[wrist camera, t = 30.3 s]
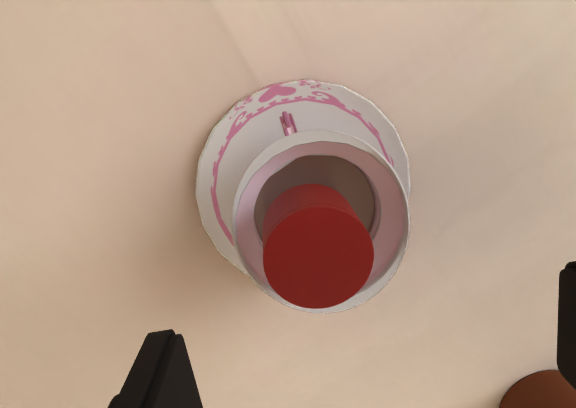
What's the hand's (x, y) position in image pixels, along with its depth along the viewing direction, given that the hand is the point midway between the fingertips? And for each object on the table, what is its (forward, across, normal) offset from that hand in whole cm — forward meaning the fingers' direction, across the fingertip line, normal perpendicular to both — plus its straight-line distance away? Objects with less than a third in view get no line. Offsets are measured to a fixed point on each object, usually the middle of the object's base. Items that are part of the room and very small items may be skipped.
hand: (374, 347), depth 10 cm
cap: (+8, +1, 0) cm, 8 cm away
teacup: (+15, +1, 0) cm, 15 cm away
